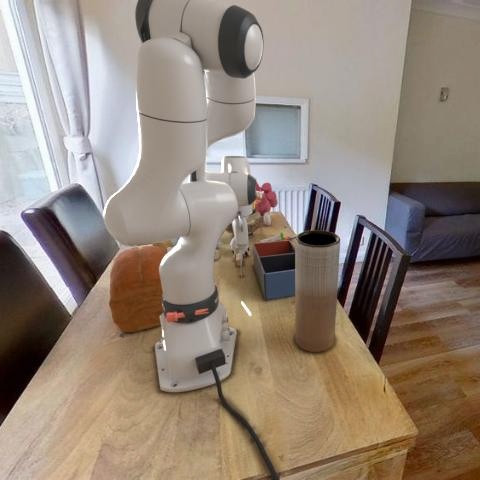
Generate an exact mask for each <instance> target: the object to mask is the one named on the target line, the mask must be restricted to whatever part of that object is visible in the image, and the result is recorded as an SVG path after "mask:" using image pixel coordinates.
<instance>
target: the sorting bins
mask: <svg viewBox="0 0 480 480" xmlns="http://www.w3.org/2000/svg"><path fill="white" fill-rule="evenodd" d="M251 245H252V259H253V260H252V262H253V263H252V264H253V269H254V271H255V275H256V278H257V281H258V283H259V286H260V290H261V292H262V295H263V299H264V301H269V300H270V301H271V300H276V299H282V298H289V297H295V244H294V243H293V242H292V241H291V239H289V240H284V241H274V242H264V243H258V242H255V243H252V244H251Z"/></svg>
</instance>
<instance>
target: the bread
mask: <svg viewBox="0 0 480 480" xmlns="http://www.w3.org/2000/svg"><path fill="white" fill-rule="evenodd" d="M167 253H168V250H167V251H165V250H164V249H163V248H160V247H157V246H153V245H144V246H142V247H137V246H135V247H131V248H127V249H124V250H122V252H120V253H119V254H118V255H117V256H116V257H115V258H114V259H113V262H112V267H111V269H110V274H109V296H110V297H109V302H108V305H109V308H110V311H111V316H112V321H113V323H114V325H116V326H117V327H118V328H119V329H121V330H122V331H123V332H124V333H134V332H140V331H144V330H148V329H152V328H156V327H159V326H161V322H160V315H161V314H162V313H163V312H164V311H163V307H162V295H163V290H162V285H161V279H160V274H159V266H160V263H161V261H162V259H163V257H164V256H165V255H166V254H167Z"/></svg>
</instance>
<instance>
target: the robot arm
mask: <svg viewBox="0 0 480 480" xmlns="http://www.w3.org/2000/svg"><path fill="white" fill-rule="evenodd" d="M134 18H135V27H136V31H137V34H138V38H139V39H140V42H141V45H140V46H139V48H138V51H137V57H136V68H135V69H136V71H135V103H136V112H137V113H136V114H137V123H138V141H139V145H138V146H139V152H138V157H137V162H136V165H135V168H134V170H133V172H132V174H131V176H130V177H129V179H128V180H127V181H126V183H125V184H124V185H123V186H122V187H121V188H120V189H119V190H118V191H117V192H115V193H113V194H112V195H111V196H110V197H109V199H108V200H107V202H106V204H105V206H104V209H103V216H102V217H103V224H104V226H105V229H106V230H107V232H108V233H109V234H110V236H111V237H112V238H113V239H114V240H116V241H117V242H118V243H120V244H121V245H124V246H149V245H153V244H155V243H160V242H164V241H168V240H172V239H177V238H180V240H179V242H178V243H177V244H176V245H175V246H173V247H172V249H171V250H170V251H167V254H166V255H165V256H164V257H163V259H162V261H161V263H160V266H159V274H160V279H161V285H162V290H163V295H162V307H163V311H164V312H163V313H162V314H161V315H160V322H161V325H160V326H161V332H162V333H161V335H162V337H159V340H158V341H156V342H155V344H154V353H155V354H154V355H155V360H156V368H157V376H158V384H159V389H160V391H162V392H165V393H166V392H167V393H184V392H189V391H194V390H199V389H203V388H207V387H209V386H212V385H214V384H215V385H216V389H217V395H218V398H219V400H220V402H221V404H222V405H223V407H224V408H225V409H226V410H227V411H228V412H229V413H230V414H231V415H232V416H234V417H235V418H236V419H238V421H240V422H241V424H242V425H243V426H244V427H245V429H246V430H247V432H248V433H249V435H250V436H251V438H252V440H253V442H254V443H255V445H256V447H257V449H258V451H259V453H260V455H261V457H262V458H263V461H264V463H265V465H266V467H267V468H268V470H269V474H270V475H271V477H272V480H281V478H280V476H279V474H278V473H277V470H276V469H275V466H274V464H273V463H272V461H271V459H270V457H269V455H268V453H267V451H266V449H265V448H264V446H263V444H262V442H261V440H260V438H259V437H258V435H257V434H256V431H255V430H254V429H253V427H252V426H251V425H250V423H249V422H248V421H247V419H246V418H245V417H244V416H243V415H242V414H240V413H239V412H238V411H236V410H235V409H234V408H233V407H231V405H230V404H229V402H227V400H226V398H225V396H224V393H223V389H222V383H221V381H223V380H225V379H226V378H227V377H229V375H231V372H232V365H233V360H234V353H235V347H236V342H237V341H236V340H237V336H238V332H237V329H236V328H235V327H231V326H229V317H228V315H227V308H226V305H225V304H223V303H221V302H220V300H219V297H220V296H219V290H218V286H217V285H216V282H215V268H214V267H215V263H214V261H215V260H214V254H215V250H216V249H217V248H218V247H217V246H218V245H217V244H219V243H218V242H220V239H221V237H222V236H223V234H224V232H226V230H225V229H226V228H227V227H228V226H229V224H230V223H232V227H233V231H234V236H235V241H236V245H237V246H238V248H239V254H244V253H245V246H246V245H248V242H249V238H248V227H247V221H246V219H248V218H249V215H250V214H252V203H253V202H254V201H255V200H256V199H257V193H256V181H257V178H256V177H255V176H254V175H253V174H252V173H251V167H250V161H249V158H247V157H246V156H244V155H226V156H223V157H222V160H221V170H220V171H219V172H217V171H216V172H215V171H214V172H213V171H208V170H207V157H208V150H209V148H210V147H211V146H212V145H214V144H216V143H218V142H221V141H223V140H226V139H228V138H231V137H232V138H233V137H234V136H237V135H239V134H241V133H244V131H246V130H247V129H248V128H249V127H250V126H251V124H252V123H253V122H254V119H255V114H256V80H255V72H256V71H257V70H258V68H259V67H260V65H261V63H262V59H263V54H264V43H265V42H264V33H263V29H262V27H261V25H260V23H259V21H258V19H257V17H256V16H255V15H254V14H253V13H252V12H250V11H249V10H247V9H245V8H243V7H241V6H238V5H236V4H233V5H231V4H227V3H225V2H223V1H220V0H137V2H136V5H135V12H134ZM187 178H188V180H187V182H184V181H186V179H187ZM216 247H217V248H216ZM240 304H241V305H242V307H243V308H244V309H245V311H246V313H247V314H248V316H249V317H251V316H252V313H251V311H250V310H249V308H248V307H247V306H246V304H245V303H244V301H241V303H240Z"/></svg>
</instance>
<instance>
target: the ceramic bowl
mask: <svg viewBox="0 0 480 480" xmlns="http://www.w3.org/2000/svg"><path fill="white" fill-rule="evenodd" d="M262 220H263V217H261V215H260V214H259V213H258V212H257V211H256V207H255V209H252V214H250V215H249V218H248V219H246V221H247V227H248V239H249V238H251V237H252V236H254V233H255V232H256V231H258V229H259V228H260V226H261V225H262ZM225 232H227V233H229V234H231V237H232V238H234V237H235V236H234V231H233V227H232V223H230V224H229V226H228V227H227V228H226V229H225Z"/></svg>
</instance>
